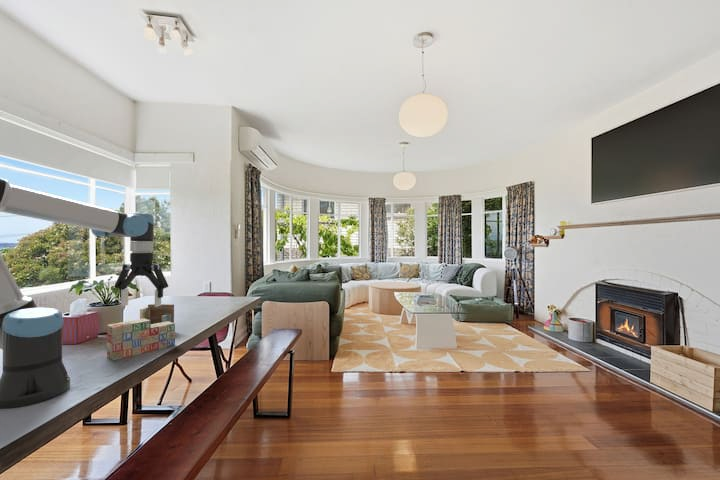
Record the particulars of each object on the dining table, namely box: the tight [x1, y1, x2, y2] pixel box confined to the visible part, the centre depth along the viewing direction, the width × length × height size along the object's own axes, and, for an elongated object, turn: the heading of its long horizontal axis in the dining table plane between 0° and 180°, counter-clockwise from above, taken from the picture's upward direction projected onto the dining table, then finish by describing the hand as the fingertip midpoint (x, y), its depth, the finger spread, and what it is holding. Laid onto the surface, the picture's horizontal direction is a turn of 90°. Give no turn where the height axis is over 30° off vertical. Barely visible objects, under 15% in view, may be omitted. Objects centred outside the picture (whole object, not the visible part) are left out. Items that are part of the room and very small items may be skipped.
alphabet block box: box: [139, 303, 175, 324], centre depth 139 cm, size 24×12×13 cm, turn 177°
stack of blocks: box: [106, 318, 176, 361], centre depth 124 cm, size 21×6×12 cm, turn 143°
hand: (141, 305), depth 124 cm, fingers open, 13 cm apart
